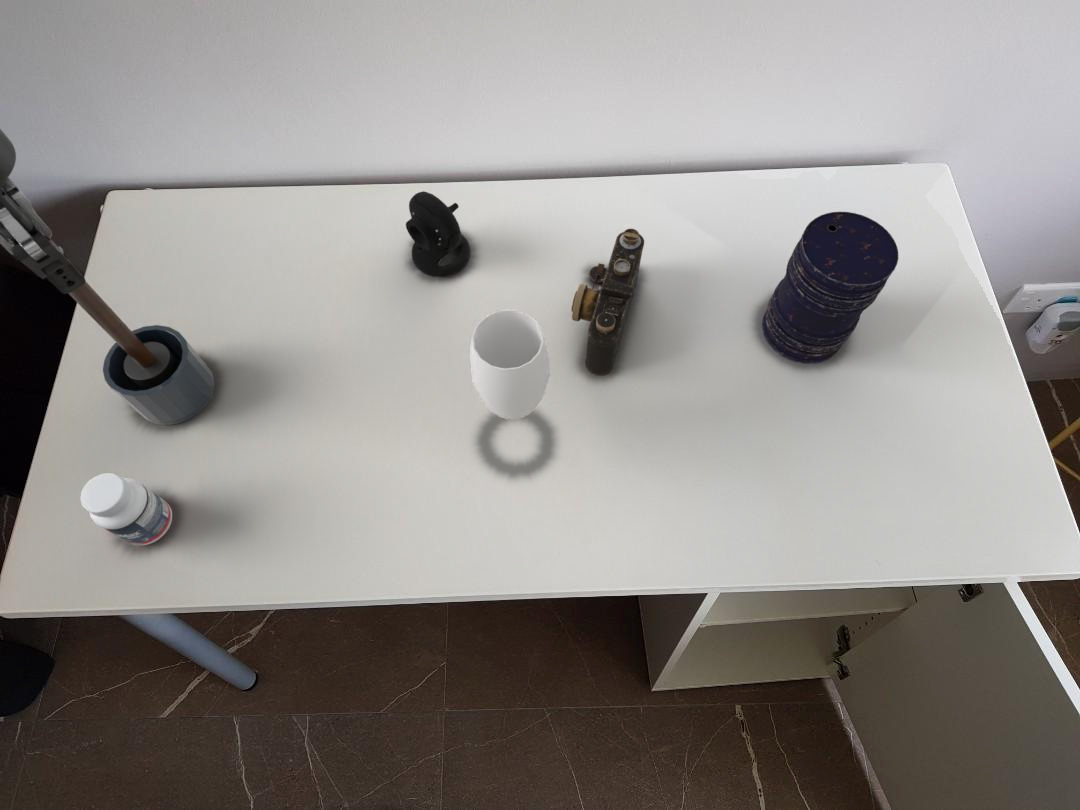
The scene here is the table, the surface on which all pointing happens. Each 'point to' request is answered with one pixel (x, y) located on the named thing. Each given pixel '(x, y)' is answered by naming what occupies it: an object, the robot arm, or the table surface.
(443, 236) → the webcam
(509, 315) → the white tall cylinder
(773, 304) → the navy stacked disc cylinder
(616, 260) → the camera
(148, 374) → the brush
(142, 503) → the pill bottle
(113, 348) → the gray open cylinder
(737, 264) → the table surface
